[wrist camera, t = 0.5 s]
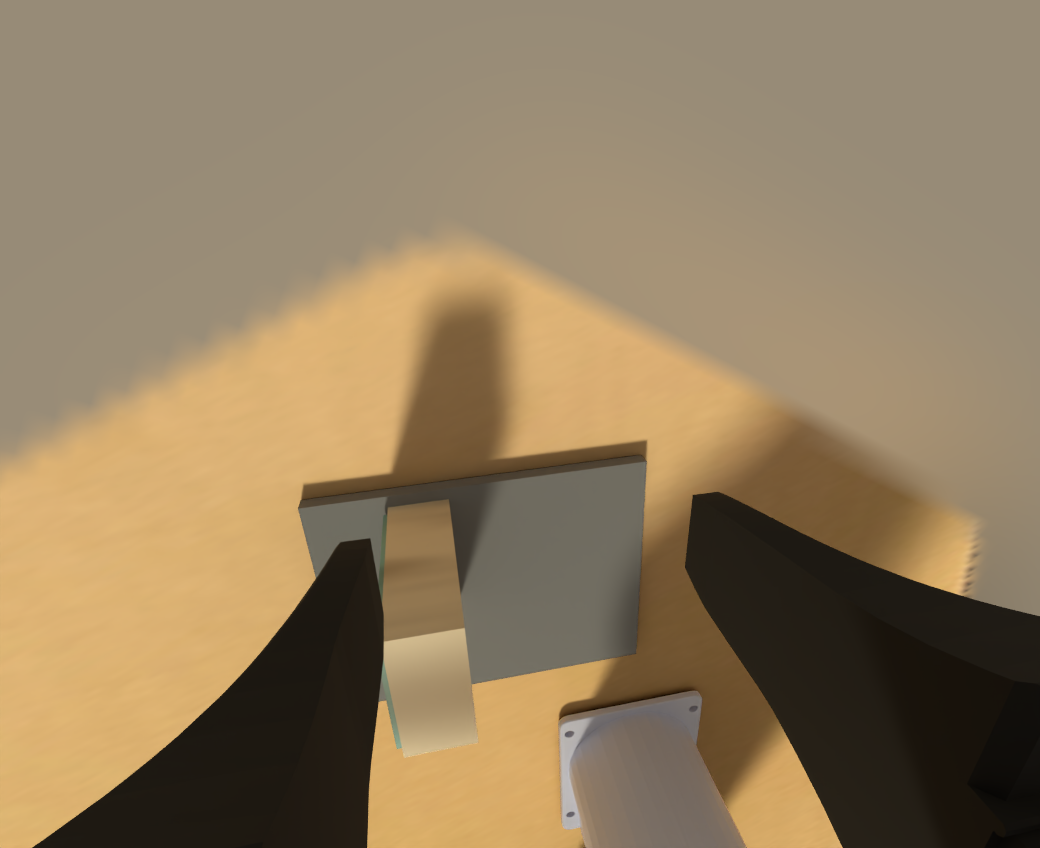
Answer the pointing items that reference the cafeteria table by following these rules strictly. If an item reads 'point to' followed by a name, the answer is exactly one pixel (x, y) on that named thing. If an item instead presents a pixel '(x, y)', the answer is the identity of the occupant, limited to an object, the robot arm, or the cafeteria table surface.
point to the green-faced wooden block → (424, 631)
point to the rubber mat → (523, 559)
